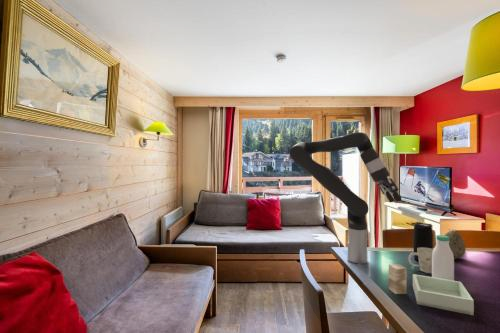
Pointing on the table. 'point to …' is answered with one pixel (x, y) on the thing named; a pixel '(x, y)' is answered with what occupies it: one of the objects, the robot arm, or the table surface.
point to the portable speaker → (422, 237)
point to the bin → (442, 294)
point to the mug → (423, 259)
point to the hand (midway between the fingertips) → (395, 201)
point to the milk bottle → (442, 259)
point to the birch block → (397, 278)
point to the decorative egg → (456, 244)
